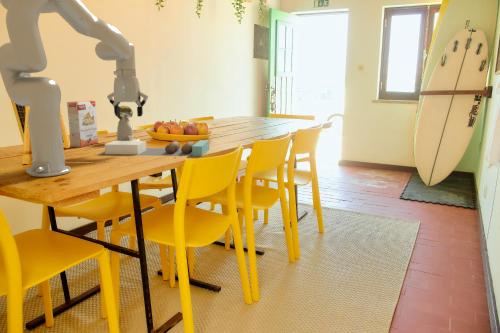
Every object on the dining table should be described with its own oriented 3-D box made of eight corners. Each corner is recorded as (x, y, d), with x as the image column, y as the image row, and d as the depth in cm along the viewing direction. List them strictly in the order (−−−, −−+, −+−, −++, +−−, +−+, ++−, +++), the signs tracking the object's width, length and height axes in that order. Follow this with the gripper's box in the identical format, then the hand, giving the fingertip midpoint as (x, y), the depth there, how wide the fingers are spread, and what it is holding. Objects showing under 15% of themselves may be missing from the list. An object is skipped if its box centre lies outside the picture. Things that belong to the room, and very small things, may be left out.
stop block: (202, 156, 156) (201, 146, 155) (192, 156, 157) (192, 146, 156) (209, 149, 172) (209, 140, 171) (200, 149, 172) (200, 140, 171)
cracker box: (81, 147, 178) (77, 101, 174) (70, 147, 179) (65, 101, 175) (99, 142, 192) (95, 100, 187) (88, 142, 193) (84, 100, 188)
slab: (138, 154, 159) (137, 144, 158) (105, 153, 160) (104, 144, 160) (146, 150, 169) (145, 141, 168) (115, 149, 170) (114, 140, 169)
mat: (202, 157, 156) (202, 156, 156) (97, 155, 160) (97, 154, 160) (209, 150, 172) (209, 149, 172) (113, 148, 175) (113, 147, 175)
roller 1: (173, 154, 161) (175, 145, 160) (164, 152, 161) (166, 143, 160) (179, 151, 170) (180, 142, 169) (170, 148, 170) (172, 140, 169)
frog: (108, 145, 186) (105, 106, 182) (121, 140, 198) (119, 104, 194) (131, 145, 184) (128, 106, 180) (143, 141, 196) (141, 105, 192)
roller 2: (192, 151, 160) (187, 143, 159) (184, 155, 161) (179, 147, 160) (196, 147, 169) (192, 139, 168) (189, 151, 169) (184, 143, 169)
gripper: (101, 73, 156) (104, 116, 159) (143, 74, 154) (145, 117, 157) (110, 74, 163) (113, 115, 167) (150, 74, 161) (151, 115, 165)
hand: (128, 116), depth 162 cm, fingers open, 9 cm apart
